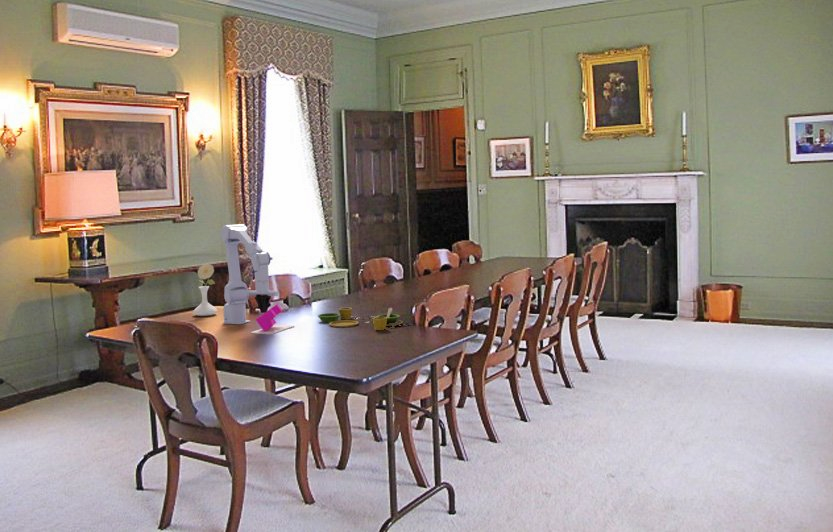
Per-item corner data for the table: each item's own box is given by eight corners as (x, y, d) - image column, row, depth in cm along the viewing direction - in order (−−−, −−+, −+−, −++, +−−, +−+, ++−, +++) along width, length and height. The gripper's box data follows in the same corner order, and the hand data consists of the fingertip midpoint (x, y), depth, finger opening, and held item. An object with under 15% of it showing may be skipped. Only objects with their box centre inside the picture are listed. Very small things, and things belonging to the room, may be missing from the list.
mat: (250, 333, 338) (250, 332, 338) (274, 325, 355) (274, 324, 355) (271, 334, 334) (271, 333, 334) (294, 326, 351) (294, 325, 351)
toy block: (264, 331, 338) (278, 321, 337) (255, 319, 338) (269, 309, 337) (272, 325, 353) (285, 315, 352) (263, 313, 353) (277, 303, 352)
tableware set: (415, 327, 346) (415, 312, 346) (360, 335, 330) (360, 320, 329) (363, 315, 379) (363, 301, 379) (311, 322, 363) (310, 308, 363)
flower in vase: (187, 316, 386) (185, 264, 383) (206, 312, 395) (203, 261, 392) (206, 318, 378) (204, 265, 376) (225, 314, 388) (222, 262, 385)
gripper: (242, 281, 343) (243, 313, 344) (271, 282, 337) (272, 314, 339) (251, 279, 349) (253, 310, 351) (280, 280, 344) (281, 311, 345)
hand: (263, 312), depth 345 cm, fingers closed
